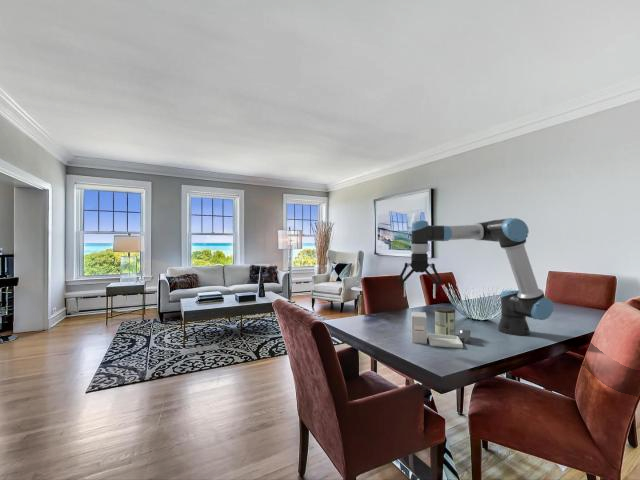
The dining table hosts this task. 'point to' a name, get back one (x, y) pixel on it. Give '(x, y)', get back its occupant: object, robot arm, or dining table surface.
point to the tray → (445, 341)
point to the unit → (419, 327)
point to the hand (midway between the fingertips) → (419, 297)
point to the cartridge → (464, 336)
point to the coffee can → (444, 321)
